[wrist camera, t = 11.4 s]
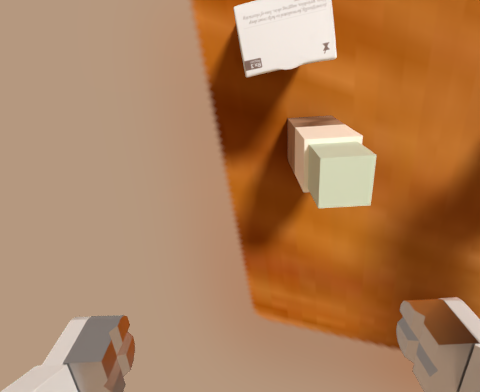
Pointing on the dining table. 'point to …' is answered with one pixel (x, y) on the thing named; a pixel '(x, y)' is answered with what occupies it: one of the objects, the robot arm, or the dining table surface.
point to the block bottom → (305, 123)
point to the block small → (341, 174)
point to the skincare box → (284, 34)
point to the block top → (317, 136)
